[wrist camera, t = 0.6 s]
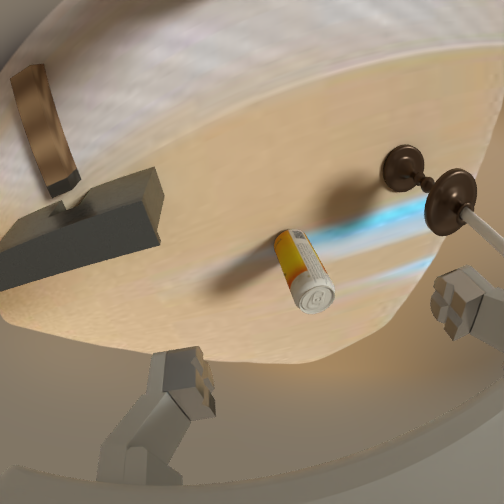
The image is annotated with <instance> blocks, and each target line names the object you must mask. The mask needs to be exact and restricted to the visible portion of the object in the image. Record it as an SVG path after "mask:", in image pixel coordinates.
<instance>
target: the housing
mask: <svg viewBox="0 0 504 504" xmlns="http://www.w3.org/2000/svg"><path fill="white" fill-rule="evenodd" d="M163 201H164V193H163V190H162V187H161V184H160V181H159V178H158V175H157V172H156V169H155V167H152V168H149V169H146V170H142V171H139V172H136V173H133V174H130V175H127V176H124V177H121V178H118V179H116V180H113V181H110V182H107V183H104V184H102V185H99V186H96V187H93V188H91V189H90V190H89V192H88V193H87V194H86V196H85V197H84V198H83V200H82V201H81V203H80V204H79V205H78V206H76V207H74V208H71V209H69V210H66V208H65V206H64V204H63V202H62V200H61V201H58V202H56V203H53V204H51V205H49V206H46V207H44V208H42V209H40V210H37V211H35V212H33V213H31V214H29V215H26V216H24V217H22V218H20V219H18V220H17V221H16V223H15V224H14V225H13V226H12V227H11V229H10V230H9V231H8V232H7V234H6V235H5V236H4V237H3V239H2V240H1V241H0V292H1V291H4V290H7V289H11V288H14V287H17V286H20V285H23V284H27V283H30V282H33V281H36V280H40V279H43V278H46V277H49V276H53V275H56V274H60V273H63V272H66V271H70V270H73V269H77V268H80V267H83V266H87V265H90V264H94V263H97V262H101V261H104V260H108V259H112V258H115V257H119V256H122V255H126V254H130V253H133V252H137V251H141V250H144V249H148V248H152V247H156V246H159V245H160V243H161V240H160V237H159V235H158V233H157V228H158V224H159V219H160V214H161V210H162V205H163Z"/></svg>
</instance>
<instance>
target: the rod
mask: <svg viewBox="0 0 504 504" xmlns="http://www.w3.org/2000/svg"><path fill="white" fill-rule="evenodd" d="M10 81H11V85H12V89H13V92H14V96H15V100H16V103H17V107H18V110H19V113H20V117H21V120H22V123H23V126H24V129H25V132H26V135H27V138H28V141H29V143H30V146H31V149H32V151H33V154H34V157H35V159H36V162H37V164H38V167H39V169H40V172H41V174H42V177H43V179H44V181H45V184H46V186H47V188H48V190H49V193H50V195H51V197H52V198H53V197H56V196H58V195H60V194H63V193H65V192H68V191H70V190H72V189H73V188H74V187H75V186H76V185H77V183H78V182H79V181H80V180H81V177H80V175H79V172H78V170H77V167H76V165H75V162H74V160H73V157H72V154H71V152H70V149H69V146H68V143H67V141H66V138H65V135H64V132H63V129H62V126H61V123H60V120H59V117H58V114H57V111H56V107H55V104H54V101H53V97H52V94H51V90H50V87H49V83H48V79H47V76H46V72H45V68H44V64H37V65H30V66H28V67H27V68H25V69H24V70H22V71H21V72H19V73H18V74H16V75H15V76H13V77H12V78H10Z"/></svg>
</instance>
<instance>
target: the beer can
mask: <svg viewBox="0 0 504 504" xmlns="http://www.w3.org/2000/svg"><path fill="white" fill-rule="evenodd" d="M274 250H275V252H276V255H277V258H278V260H279V263H280V265H281V268H282V271H283V273H284V276H285V278H286V281H287V284H288V286H289V289H290V292H291V294H292V297H293V299H294V302H295V304H296V306H297V307H298V308H300V309H301V311H303V312H304V313H307V314H316V313H319V312H322V311H324V310H325V309H327V308H328V307H329V306H330V305H331V304H332V303H333V301H334V298H335V287H334V285H333V283H332V281H331V279H330V277H329V275H328V274H327V272H326V270H325V268H324V266H323V265H322V263H321V261H320V259H319V257H318V256H317V254H316V252H315V250H314V248H313V247H312V245H311V243H310V241H309V240H308V238H307V236H306V235H305V233H304V232H302V231H300V230H297V229H290V230H286V231H284V232H282V233H281V234H280V235H279V236H278V237H277V238H276V240H275V243H274Z"/></svg>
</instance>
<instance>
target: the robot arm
mask: <svg viewBox="0 0 504 504" xmlns="http://www.w3.org/2000/svg"><path fill="white" fill-rule="evenodd" d="M433 287H434V288H435V292H434V294H433V295H432V297H431V303H430V306H431V311H432V313H433V315H434V317H435V318H436V319H437V321H439V322H441V323H444V330H445V331H446V332H447V334H448V335H449V336H450V338H451V339H452V340H453V341H455V340H457V339H459V338H461V337H463V336H465V335H467V334H469V333H470V334H471V335H472V336H474V337H476V338H478V339H480V340H481V341H483V342H485V343H487V344H489V345H490V346H492V347H494V348H496V349H498V350H499V351H501V352H503V353H504V289H501V288H498V287H497V288H494V287H493V286H492V285H491V284H490V283H489V282H488V281H487V280H486V279H485V278H484V277H482V276H481V275H480V274H479V273H478V272H477V271H476V270H475V269H474V268H473V267H471V266H469V265H465V266H463V267H461V268H458V269H456V270H453V271H451V272H449V273H446V274H444V275H441V276H439V277H437V278H436V279H435V281H434V286H433ZM502 368H503V369H504V362H503V364H502ZM213 390H214V380H213V375H212V371H211V368H210V366H209V364H208V362H207V361H205V360H203V352H202V350H201V349H200V347H199V346H194V347H188V348H182V349H176V350H169V351H164V352H157V353H153V355H152V357H151V362H150V368H149V375H148V383H147V390H146V394H144V395H141V397H140V398H139V399H138V400H137V401H136V403H135V404H134V405H133V406H132V408H131V409H130V410H129V412H128V413H127V414H126V415H125V416H124V417H123V419H122V420H121V421H120V423H119V424H118V425H117V426H116V427H115V429H114V430H113V431H112V432H111V433H110V435H109V436H108V437H107V438H106V440H105V441H104V442H103V443H102V445H101V449H100V455H99V462H98V470H97V478H96V481H90V480H84V479H77V478H71V477H66V476H60V475H55V474H51V473H47V472H42V471H38V470H35V469H31V468H27V467H24V466H20V465H12V466H10V467H9V468H8V469H6V470H5V471H4V472H3V473H2V474H1V475H0V504H504V376H503V377H502V378H500V379H499V380H498V381H496V382H495V383H493V384H492V385H490V386H489V387H488V388H486V389H484V390H483V391H481V392H480V393H478V394H477V395H475V396H474V397H472V398H470V399H469V400H467V401H466V402H464V403H462V404H461V405H459V406H457V407H456V408H454V409H452V410H450V411H448V412H447V413H445V414H443V415H441V416H439V417H437V418H436V419H434V420H432V421H430V422H428V423H426V424H424V425H422V426H420V427H418V428H416V429H414V430H411V431H409V432H407V433H405V434H403V435H400V436H398V437H396V438H393V439H391V440H389V441H386V442H384V443H381V444H379V445H376V446H374V447H371V448H368V449H366V450H363V451H360V452H357V453H354V454H352V455H349V456H345V457H342V458H339V459H336V460H333V461H330V462H326V463H322V464H319V465H315V466H311V467H307V468H303V469H299V470H295V471H291V472H286V473H282V474H276V475H271V476H266V477H260V478H254V479H247V480H240V481H232V482H224V483H212V484H199V485H183V479H182V478H183V477H182V475H181V474H180V473H179V472H177V471H176V470H174V469H173V468H171V467H170V466H168V463H169V462H170V460H171V458H172V456H173V454H174V453H175V451H176V449H177V447H178V446H179V444H180V442H181V440H182V438H183V437H184V435H185V433H186V431H187V429H188V427H189V426H190V424H191V421H194V420H200V419H207V418H213V417H216V409H215V399H214V397H213V396H212V394H211V393H212V391H213Z"/></svg>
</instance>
